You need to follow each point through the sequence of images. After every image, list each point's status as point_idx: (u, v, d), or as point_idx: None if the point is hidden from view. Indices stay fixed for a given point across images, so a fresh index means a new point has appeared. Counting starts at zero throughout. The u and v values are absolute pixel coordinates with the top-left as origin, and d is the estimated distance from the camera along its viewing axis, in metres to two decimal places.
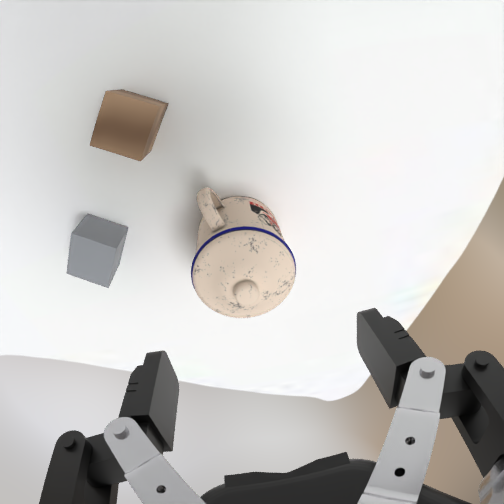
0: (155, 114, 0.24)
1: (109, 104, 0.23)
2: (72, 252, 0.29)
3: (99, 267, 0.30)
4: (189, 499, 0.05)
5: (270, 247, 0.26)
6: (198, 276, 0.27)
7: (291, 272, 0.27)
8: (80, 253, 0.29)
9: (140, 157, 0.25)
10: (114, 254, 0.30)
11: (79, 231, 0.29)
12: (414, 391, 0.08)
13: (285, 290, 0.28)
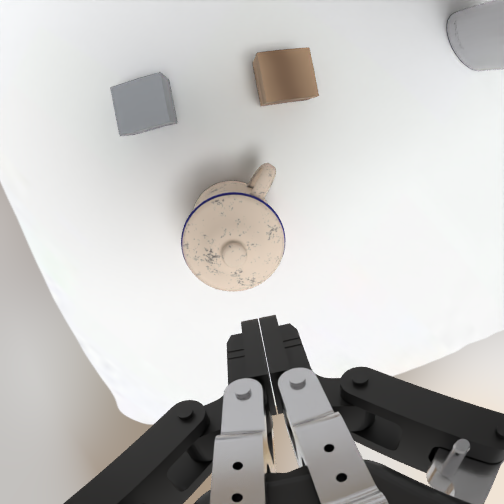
0: (311, 95, 0.27)
1: (299, 54, 0.26)
2: (138, 82, 0.25)
3: (138, 116, 0.27)
4: (254, 488, 0.06)
5: (277, 246, 0.28)
6: (213, 207, 0.26)
7: (264, 278, 0.29)
8: (143, 90, 0.26)
9: (270, 100, 0.27)
10: (162, 122, 0.27)
11: (162, 79, 0.26)
12: (297, 404, 0.08)
13: (245, 285, 0.29)
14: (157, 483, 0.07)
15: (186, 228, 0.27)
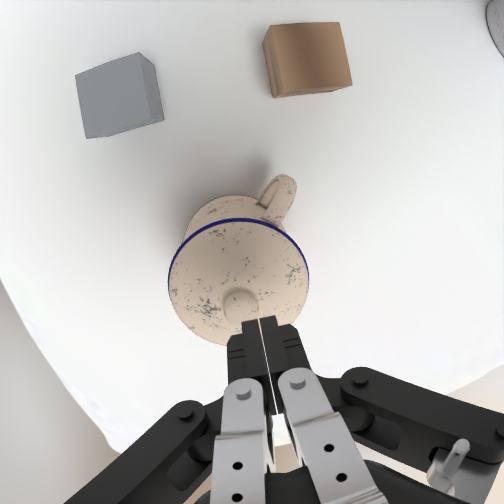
0: (342, 84, 0.20)
1: (327, 30, 0.18)
2: (110, 66, 0.18)
3: (110, 111, 0.19)
4: (254, 488, 0.06)
5: (299, 291, 0.20)
6: (210, 239, 0.18)
7: None
8: (116, 77, 0.18)
9: (288, 89, 0.19)
10: (140, 120, 0.19)
11: (143, 61, 0.18)
12: (297, 405, 0.08)
13: None
14: (157, 483, 0.07)
15: (173, 268, 0.19)
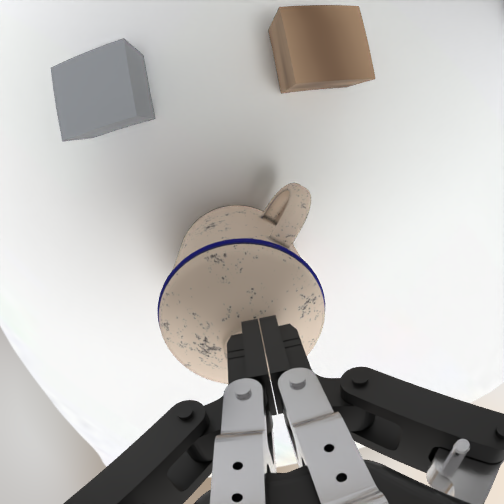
0: (364, 77, 0.16)
1: (345, 14, 0.14)
2: (91, 56, 0.14)
3: (89, 108, 0.15)
4: (254, 488, 0.06)
5: (314, 325, 0.16)
6: (207, 266, 0.15)
7: None
8: (96, 68, 0.15)
9: (301, 81, 0.16)
10: (124, 118, 0.16)
11: (128, 49, 0.15)
12: (297, 405, 0.08)
13: None
14: (157, 483, 0.07)
15: (163, 299, 0.16)
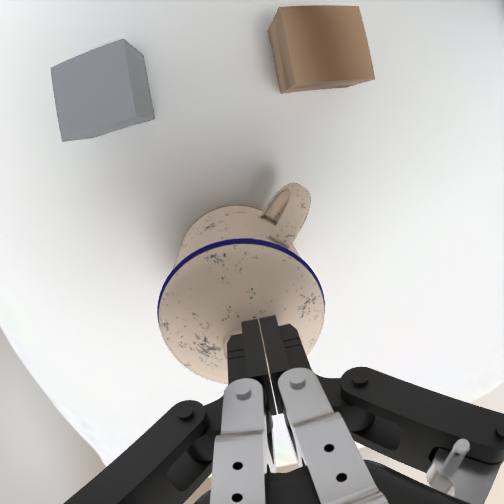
0: (363, 78, 0.16)
1: (345, 14, 0.14)
2: (90, 56, 0.14)
3: (89, 109, 0.15)
4: (254, 488, 0.06)
5: (314, 325, 0.16)
6: (207, 266, 0.15)
7: None
8: (96, 68, 0.15)
9: (300, 81, 0.16)
10: (124, 118, 0.16)
11: (128, 50, 0.15)
12: (297, 404, 0.08)
13: None
14: (157, 483, 0.07)
15: (163, 299, 0.16)
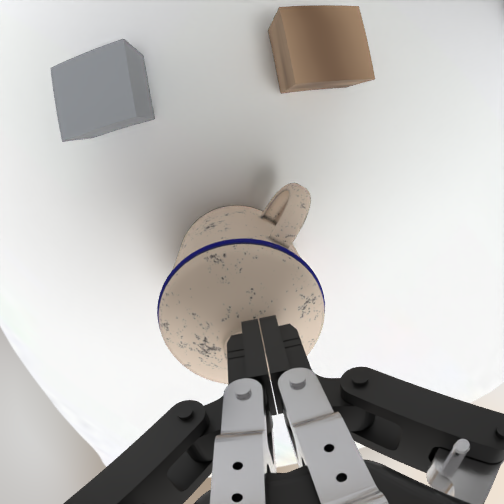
0: (363, 78, 0.16)
1: (345, 14, 0.14)
2: (90, 56, 0.14)
3: (89, 109, 0.15)
4: (254, 488, 0.06)
5: (314, 325, 0.16)
6: (207, 266, 0.15)
7: None
8: (96, 68, 0.15)
9: (300, 81, 0.16)
10: (124, 118, 0.16)
11: (128, 50, 0.15)
12: (297, 404, 0.08)
13: None
14: (157, 483, 0.07)
15: (163, 299, 0.16)
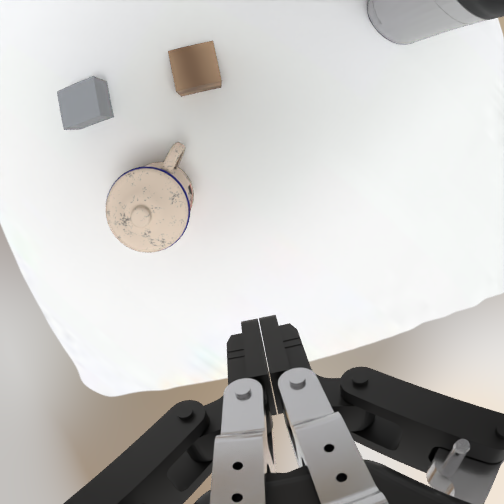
0: (214, 81, 0.31)
1: (204, 47, 0.29)
2: (77, 85, 0.29)
3: (77, 112, 0.30)
4: (254, 488, 0.06)
5: (180, 210, 0.31)
6: (126, 179, 0.30)
7: (173, 239, 0.32)
8: (80, 92, 0.29)
9: (178, 89, 0.31)
10: (94, 116, 0.31)
11: (96, 81, 0.30)
12: (297, 404, 0.08)
13: (157, 246, 0.32)
14: (157, 483, 0.07)
15: (107, 198, 0.30)
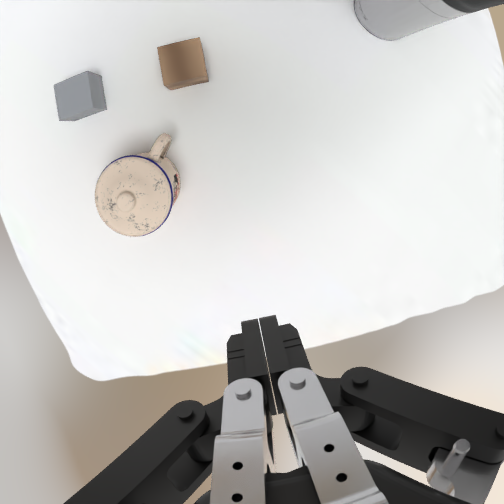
0: (200, 75, 0.32)
1: (191, 44, 0.31)
2: (72, 79, 0.30)
3: (72, 105, 0.31)
4: (254, 488, 0.06)
5: (163, 196, 0.32)
6: (114, 166, 0.31)
7: (156, 224, 0.34)
8: (75, 85, 0.31)
9: (166, 83, 0.32)
10: (87, 108, 0.32)
11: (90, 75, 0.31)
12: (297, 404, 0.08)
13: (141, 230, 0.34)
14: (157, 483, 0.07)
15: (96, 185, 0.32)
